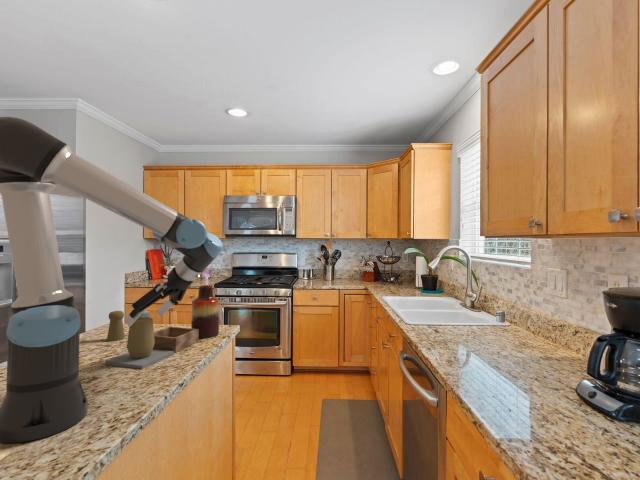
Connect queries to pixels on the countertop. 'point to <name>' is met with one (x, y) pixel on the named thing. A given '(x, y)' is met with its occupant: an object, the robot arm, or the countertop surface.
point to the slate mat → (139, 359)
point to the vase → (205, 313)
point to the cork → (116, 326)
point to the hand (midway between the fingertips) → (144, 318)
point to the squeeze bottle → (141, 336)
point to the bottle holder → (175, 338)
